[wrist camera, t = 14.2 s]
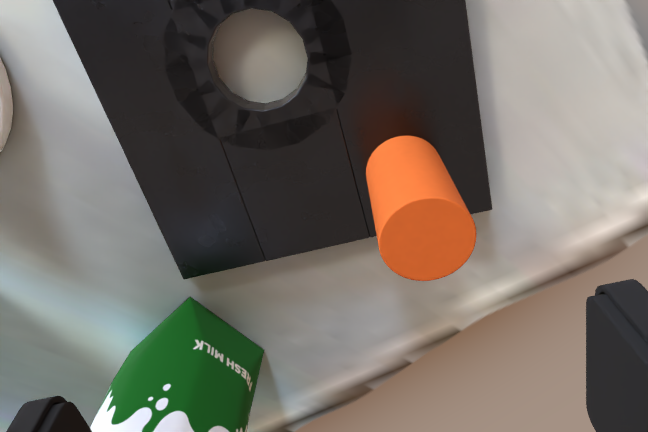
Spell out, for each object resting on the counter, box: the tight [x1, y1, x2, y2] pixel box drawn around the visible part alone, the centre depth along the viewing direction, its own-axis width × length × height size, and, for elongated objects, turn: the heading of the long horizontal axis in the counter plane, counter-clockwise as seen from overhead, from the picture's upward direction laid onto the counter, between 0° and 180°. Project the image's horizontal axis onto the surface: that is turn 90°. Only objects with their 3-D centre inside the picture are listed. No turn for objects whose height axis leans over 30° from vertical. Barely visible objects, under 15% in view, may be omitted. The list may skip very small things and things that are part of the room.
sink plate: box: [53, 0, 492, 279], centre depth 30 cm, size 20×18×2 cm
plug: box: [366, 136, 476, 281], centre depth 27 cm, size 4×4×8 cm
